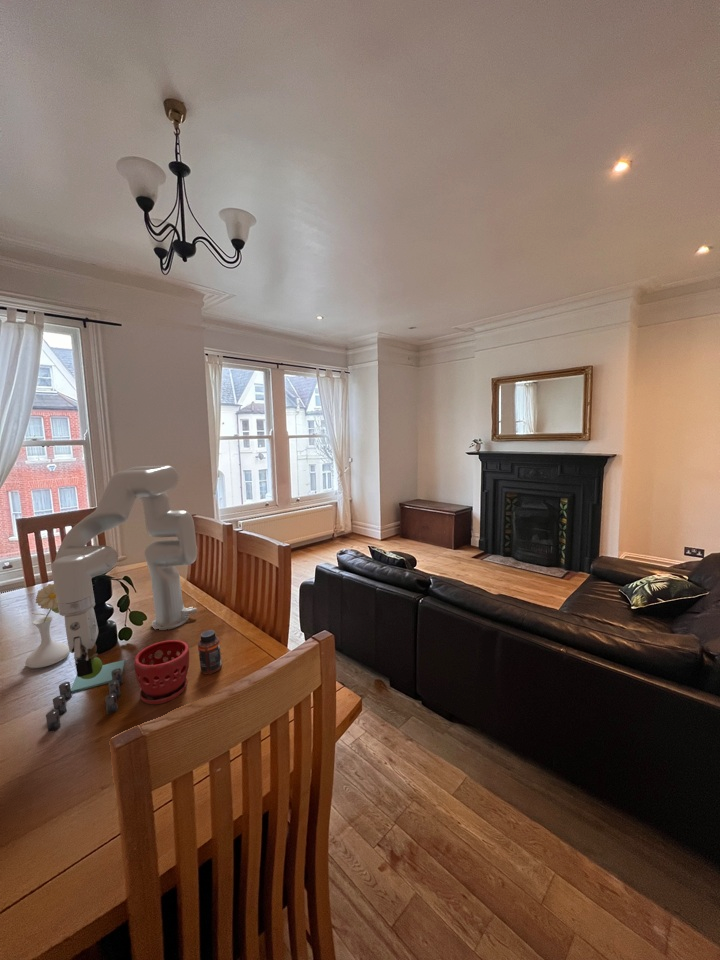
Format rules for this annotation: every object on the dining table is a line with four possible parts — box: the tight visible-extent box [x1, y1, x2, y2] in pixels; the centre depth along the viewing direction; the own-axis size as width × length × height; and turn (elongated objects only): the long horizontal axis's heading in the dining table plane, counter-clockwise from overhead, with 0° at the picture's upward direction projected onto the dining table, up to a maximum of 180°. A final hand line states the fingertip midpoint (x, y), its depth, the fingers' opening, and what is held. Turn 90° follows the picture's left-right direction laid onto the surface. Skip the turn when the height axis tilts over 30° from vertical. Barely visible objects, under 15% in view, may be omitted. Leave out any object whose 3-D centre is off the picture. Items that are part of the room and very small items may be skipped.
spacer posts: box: [45, 668, 124, 733], centre depth 101 cm, size 14×14×4 cm
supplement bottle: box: [197, 629, 223, 675], centre depth 114 cm, size 6×6×11 cm
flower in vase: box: [24, 583, 71, 669], centre depth 121 cm, size 13×11×25 cm
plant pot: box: [134, 639, 190, 705], centre depth 104 cm, size 13×13×12 cm
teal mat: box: [71, 659, 126, 694], centre depth 113 cm, size 12×10×1 cm
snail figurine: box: [81, 643, 103, 679], centre depth 101 cm, size 5×6×12 cm
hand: (87, 667), depth 101 cm, fingers closed on snail figurine, 5 cm apart
